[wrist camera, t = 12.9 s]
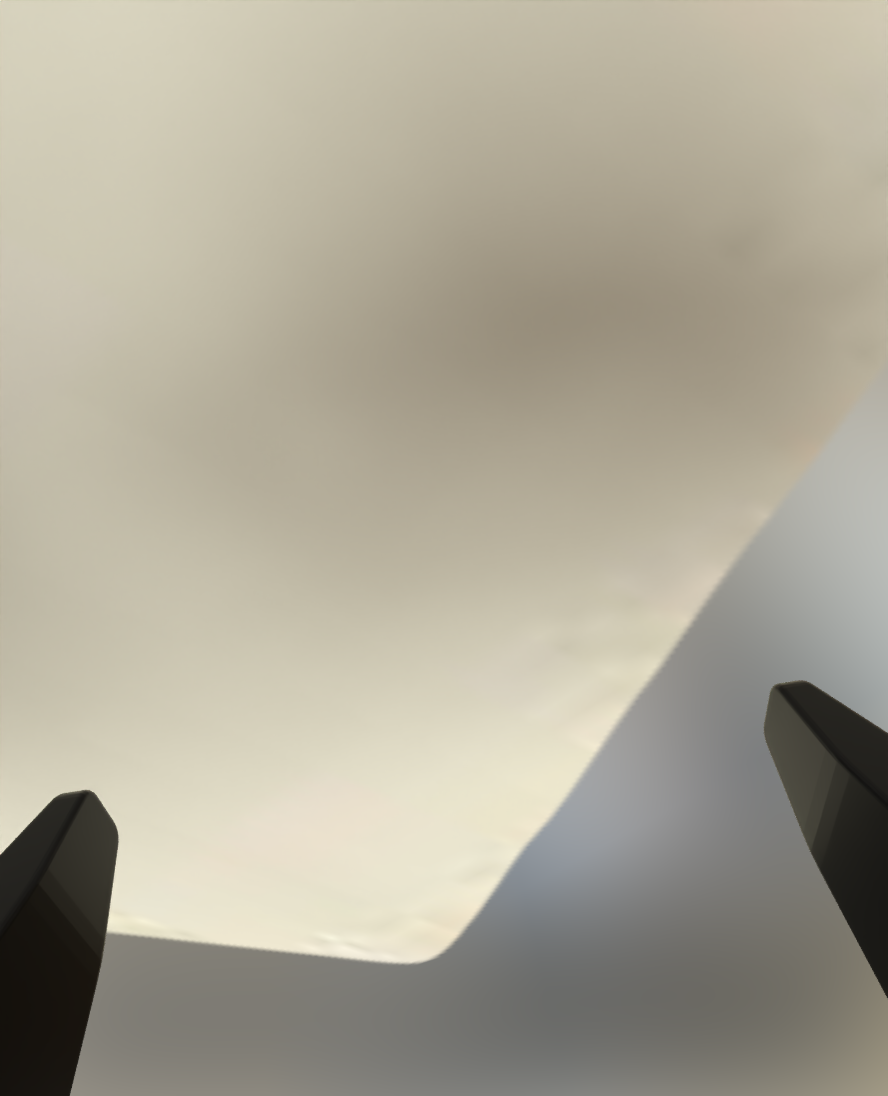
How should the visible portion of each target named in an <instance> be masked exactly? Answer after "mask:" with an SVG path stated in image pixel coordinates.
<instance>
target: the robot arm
mask: <svg viewBox="0 0 888 1096" xmlns="http://www.w3.org/2000/svg"><path fill="white" fill-rule="evenodd" d="M764 735H765V740H766V743H767V746H768V748H769V751H770V753H771V756H772V758H773V761H774V763H775V766H776V768H777V771H778V773H779V776H780V778H781V781H782V783H783V786H784V788H785V791H786V793H787V796H788V798H789V801H790V803H791V806H792V808H793V811H794V813H795V816H796V818H797V821H798V823H799V826H800V828H801V831H802V833H803V836H804V838H805V840H806V843H807V845H808V847H809V850H810V852H811V854H812V856H813V858H814V860H815V862H816V864H817V866H818V868H819V870H820V872H821V874H822V876H823V878H824V879H825V881H826V883H827V885H828V887H829V889H830V891H831V893H832V895H833V897H834V898H835V900H836V902H837V904H838V906H839V908H840V910H841V911H842V913H843V915H844V917H845V919H846V921H847V923H848V925H849V927H850V928H851V930H852V932H853V934H854V936H855V938H856V940H857V942H858V943H859V946H860V947H861V949H862V951H863V953H864V955H865V957H866V959H867V961H868V962H869V964H870V966H871V968H872V970H873V972H874V974H875V976H876V977H877V979H878V981H879V983H880V985H881V987H882V989H883V991H884V993H885V995H886V996H887V998H888V733H887V732H885V731H883V730H882V729H881V728H879V727H878V726H876V725H874V724H873V723H871V722H870V721H868V720H867V719H865V718H864V717H862V716H861V715H859V714H858V713H856V712H854V711H853V710H851V709H850V708H848V707H847V706H845V705H844V704H842V703H841V702H839V701H838V700H836V699H834V698H833V697H831V696H830V695H828V694H827V693H825V692H824V691H822V690H821V689H819V688H818V687H816V686H814V685H813V684H811V683H809V682H807V681H803V680H801V681H800V680H799V681H792V682H785V683H779V684H776V685H774V686H773V688H772V689H771V691H770V695H769V701H768V706H767V711H766V717H765V722H764ZM117 850H118V831H117V828H116V825H115V823H114V821H113V820H112V818H111V817H110V815H109V814H108V812H107V811H106V809H105V808H104V806H103V805H102V803H101V801H100V800H99V798H98V797H97V795H96V794H95V793H94V792H92V791H90V790H82V791H75V792H69V793H64V794H60V795H58V796H57V797H55V798H54V799H53V800H52V801H51V802H50V803H49V804H48V805H47V806H46V807H45V808H44V809H43V810H42V811H41V812H40V813H39V814H38V816H37V817H36V818H35V819H34V820H33V821H32V822H31V823H30V824H29V825H28V826H27V827H26V828H25V829H24V830H23V831H22V832H21V834H20V835H19V836H18V837H17V838H16V839H15V840H14V841H13V842H12V843H11V844H10V845H9V846H8V847H7V848H6V849H5V850H4V852H3V853H2V854H1V855H0V1096H70V1093H71V1088H72V1084H73V1080H74V1076H75V1072H76V1067H77V1064H78V1060H79V1055H80V1051H81V1047H82V1043H83V1039H84V1035H85V1031H86V1026H87V1022H88V1018H89V1014H90V1010H91V1006H92V1002H93V998H94V994H95V989H96V985H97V981H98V976H99V972H100V967H101V963H102V957H103V951H104V945H105V939H106V931H107V924H108V917H109V909H110V902H111V894H112V887H113V880H114V872H115V865H116V857H117Z"/></svg>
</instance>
